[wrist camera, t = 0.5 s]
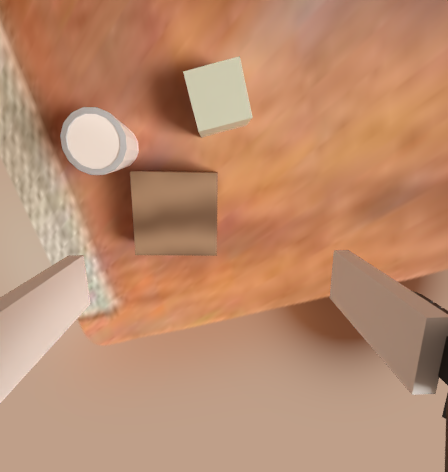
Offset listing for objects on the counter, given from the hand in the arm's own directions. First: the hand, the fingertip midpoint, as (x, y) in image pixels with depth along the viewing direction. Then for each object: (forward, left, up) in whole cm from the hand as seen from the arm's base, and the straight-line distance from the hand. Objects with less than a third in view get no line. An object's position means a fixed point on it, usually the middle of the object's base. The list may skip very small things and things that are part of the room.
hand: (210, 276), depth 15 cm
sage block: (-13, 0, -24) cm, 27 cm away
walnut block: (0, -5, -24) cm, 24 cm away
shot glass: (-8, -13, -24) cm, 28 cm away
